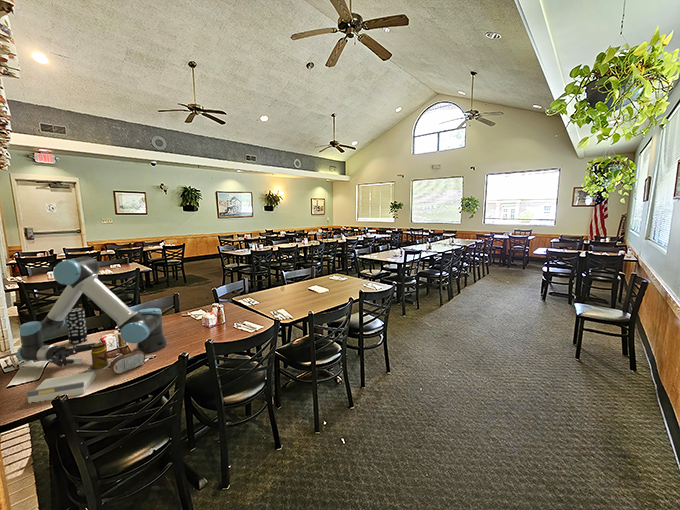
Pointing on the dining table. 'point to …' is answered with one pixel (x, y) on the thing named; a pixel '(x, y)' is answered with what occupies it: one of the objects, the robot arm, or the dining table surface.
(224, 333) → the dining table surface
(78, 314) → the spotted tube
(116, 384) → the dining table surface
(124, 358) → the brown grey oval slab
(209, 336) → the dining table surface
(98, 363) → the condiment
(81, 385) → the grey striped flat slab
